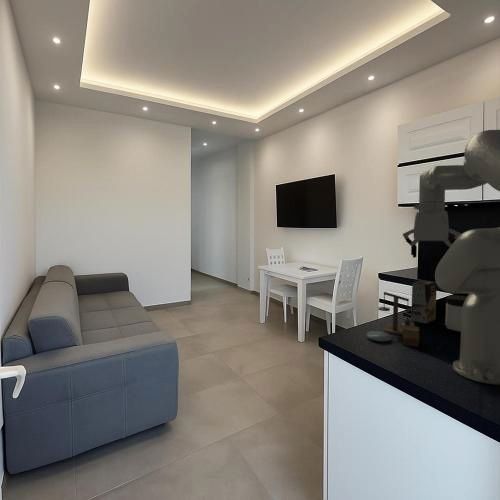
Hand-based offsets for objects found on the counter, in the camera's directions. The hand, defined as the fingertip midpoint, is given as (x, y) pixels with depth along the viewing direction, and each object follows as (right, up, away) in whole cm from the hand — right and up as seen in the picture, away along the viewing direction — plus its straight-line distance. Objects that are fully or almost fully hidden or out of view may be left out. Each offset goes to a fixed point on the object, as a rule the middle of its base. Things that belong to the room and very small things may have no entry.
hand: (430, 257), depth 107 cm
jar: (+18, -28, +13) cm, 36 cm away
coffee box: (+11, -27, +24) cm, 37 cm away
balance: (-8, -28, +9) cm, 30 cm away
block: (-8, -29, -2) cm, 30 cm away
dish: (-17, -29, +3) cm, 33 cm away
